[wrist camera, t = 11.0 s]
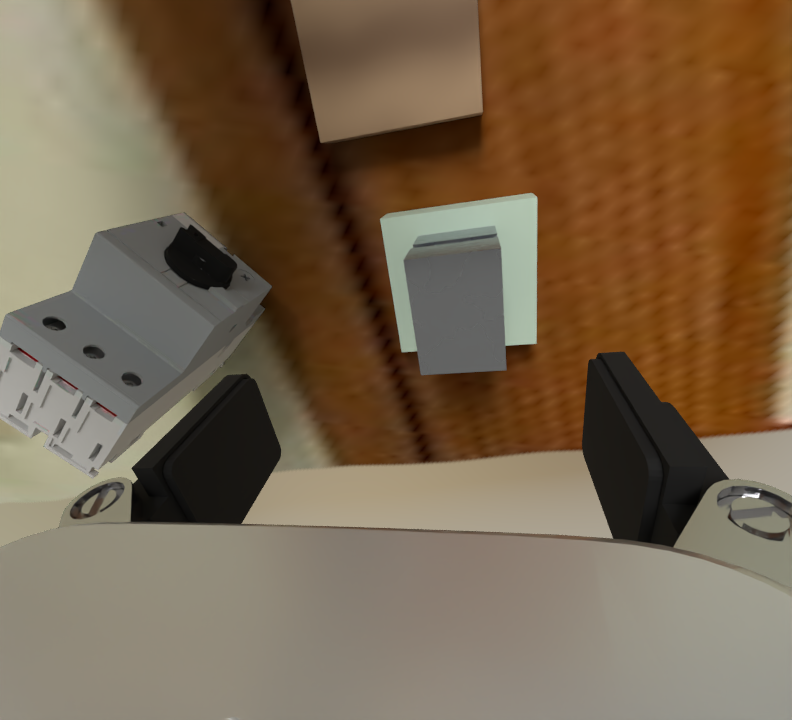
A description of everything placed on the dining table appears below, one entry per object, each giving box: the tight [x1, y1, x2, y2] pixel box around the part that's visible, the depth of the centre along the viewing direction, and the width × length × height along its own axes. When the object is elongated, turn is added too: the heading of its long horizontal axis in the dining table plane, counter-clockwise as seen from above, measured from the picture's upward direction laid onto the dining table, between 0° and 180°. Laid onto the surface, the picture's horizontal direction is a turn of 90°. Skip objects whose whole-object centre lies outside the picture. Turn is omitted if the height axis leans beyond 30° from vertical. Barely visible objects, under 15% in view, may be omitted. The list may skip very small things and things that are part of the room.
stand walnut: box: [291, 0, 483, 143], centre depth 23 cm, size 10×10×2 cm
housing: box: [403, 225, 506, 375], centre depth 25 cm, size 7×5×7 cm
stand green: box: [380, 193, 537, 352], centre depth 29 cm, size 10×10×2 cm
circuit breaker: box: [0, 212, 272, 478], centre depth 27 cm, size 8×14×15 cm, turn 139°
